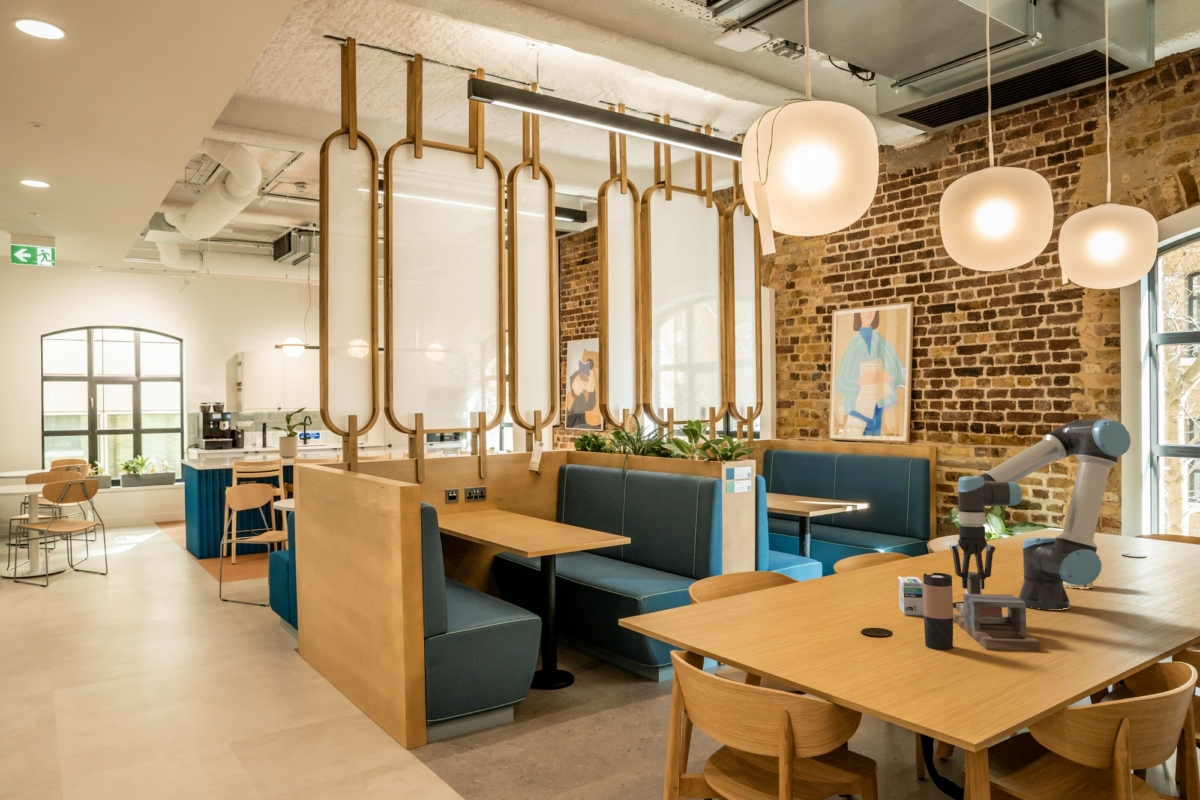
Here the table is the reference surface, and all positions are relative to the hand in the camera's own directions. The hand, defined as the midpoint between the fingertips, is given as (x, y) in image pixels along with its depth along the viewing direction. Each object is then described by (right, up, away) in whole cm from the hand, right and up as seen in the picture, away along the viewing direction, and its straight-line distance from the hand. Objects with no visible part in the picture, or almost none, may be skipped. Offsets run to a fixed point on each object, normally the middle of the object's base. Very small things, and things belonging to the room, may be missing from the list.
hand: (973, 598), depth 250 cm
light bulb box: (-16, -7, +11) cm, 20 cm away
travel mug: (-23, -6, -29) cm, 37 cm away
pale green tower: (+60, -7, +45) cm, 76 cm away
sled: (-1, -4, -7) cm, 8 cm away
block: (-2, -4, -12) cm, 12 cm away
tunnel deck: (-3, -6, -18) cm, 20 cm away
